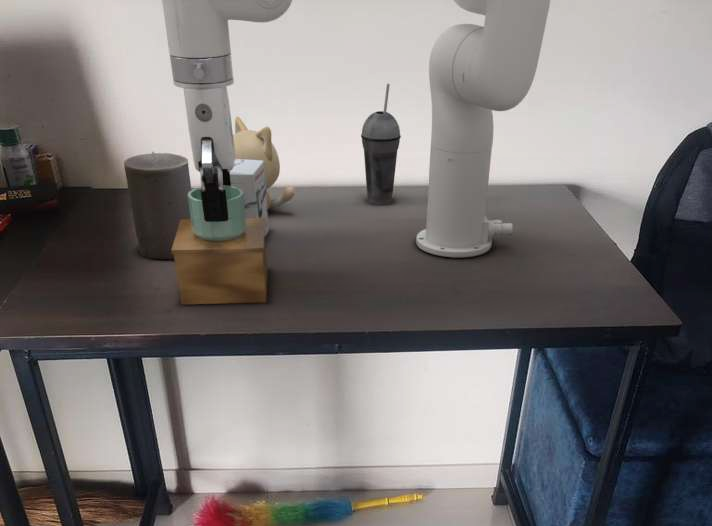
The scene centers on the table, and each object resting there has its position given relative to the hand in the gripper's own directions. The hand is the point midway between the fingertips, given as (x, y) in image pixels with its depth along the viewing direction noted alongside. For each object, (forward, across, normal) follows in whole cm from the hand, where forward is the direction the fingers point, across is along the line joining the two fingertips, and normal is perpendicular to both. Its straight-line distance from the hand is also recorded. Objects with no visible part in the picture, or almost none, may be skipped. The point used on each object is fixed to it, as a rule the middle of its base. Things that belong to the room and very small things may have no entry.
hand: (219, 209), depth 107 cm
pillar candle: (+12, +16, +10) cm, 22 cm away
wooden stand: (+11, 0, 0) cm, 11 cm away
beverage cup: (+12, +39, -27) cm, 49 cm away
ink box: (+12, +20, -3) cm, 23 cm away
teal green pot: (+3, 0, 0) cm, 3 cm away
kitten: (+12, +35, -3) cm, 37 cm away
